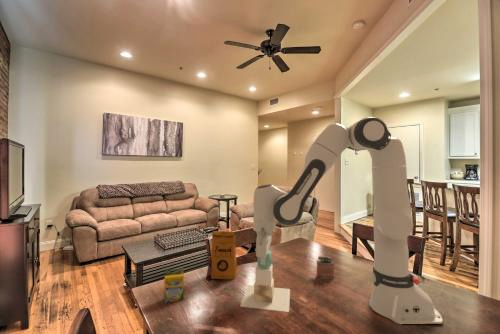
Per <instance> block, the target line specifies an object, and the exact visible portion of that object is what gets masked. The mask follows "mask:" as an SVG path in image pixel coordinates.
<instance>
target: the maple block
mask: <svg viewBox="0 0 500 334" xmlns="http://www.w3.org/2000/svg"><path fill="white" fill-rule="evenodd" d="M253 285H254V301H260V302H269V303H272V301H273V295H274V288H275V279H274V278H273V279H272V284H271V286H262V285H256V280H255V281H254V284H253Z"/></svg>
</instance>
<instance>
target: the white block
mask: <svg viewBox="0 0 500 334" xmlns="http://www.w3.org/2000/svg"><path fill="white" fill-rule="evenodd" d="M256 264H257V263H256ZM273 268H274V267H273V264H272V263H271V266H270V267H260V266H258V264H257V265H256V267H255V281H256V285H262V286H271V284H272V279H274V277H273V275H274V274H273V270H274V269H273Z"/></svg>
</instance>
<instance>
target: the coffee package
mask: <svg viewBox="0 0 500 334" xmlns="http://www.w3.org/2000/svg"><path fill="white" fill-rule="evenodd" d="M211 235H212V239H211V253H210V254H211V268H212V269H211V277H210V278H211V280H223V281H224V280H235V278H236V277H237V275H238V261H237V256H236V255H237V252H236V250H237V249H236V247H237V246H236V236H235V231H230V230H229V231H225V230H213V231H212V233H211Z"/></svg>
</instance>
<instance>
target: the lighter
mask: <svg viewBox="0 0 500 334" xmlns="http://www.w3.org/2000/svg"><path fill="white" fill-rule="evenodd" d="M334 270H335V262H334V261H333V260H332V256H328V255H324V256H321V255H319V256H318V260H316V278H317V279H320V280H334V279H335V271H334Z"/></svg>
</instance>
